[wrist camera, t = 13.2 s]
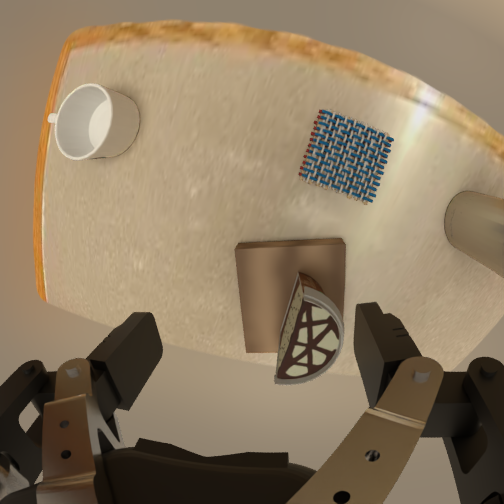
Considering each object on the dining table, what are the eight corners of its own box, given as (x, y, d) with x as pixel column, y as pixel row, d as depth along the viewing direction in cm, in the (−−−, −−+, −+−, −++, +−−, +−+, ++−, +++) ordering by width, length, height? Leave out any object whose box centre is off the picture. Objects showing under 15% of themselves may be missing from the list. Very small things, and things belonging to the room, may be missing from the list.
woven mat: (318, 106, 33) (320, 103, 31) (391, 136, 33) (396, 134, 31) (295, 178, 36) (295, 179, 34) (368, 206, 36) (372, 208, 34)
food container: (317, 348, 39) (323, 395, 30) (277, 339, 40) (273, 387, 30) (346, 271, 36) (365, 307, 26) (301, 260, 36) (305, 294, 26)
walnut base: (341, 238, 37) (345, 244, 35) (337, 338, 42) (340, 349, 39) (238, 243, 39) (234, 249, 36) (248, 341, 44) (246, 352, 41)
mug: (150, 96, 34) (122, 84, 27) (132, 165, 38) (100, 167, 30) (85, 90, 35) (53, 82, 27) (70, 151, 38) (36, 152, 30)
